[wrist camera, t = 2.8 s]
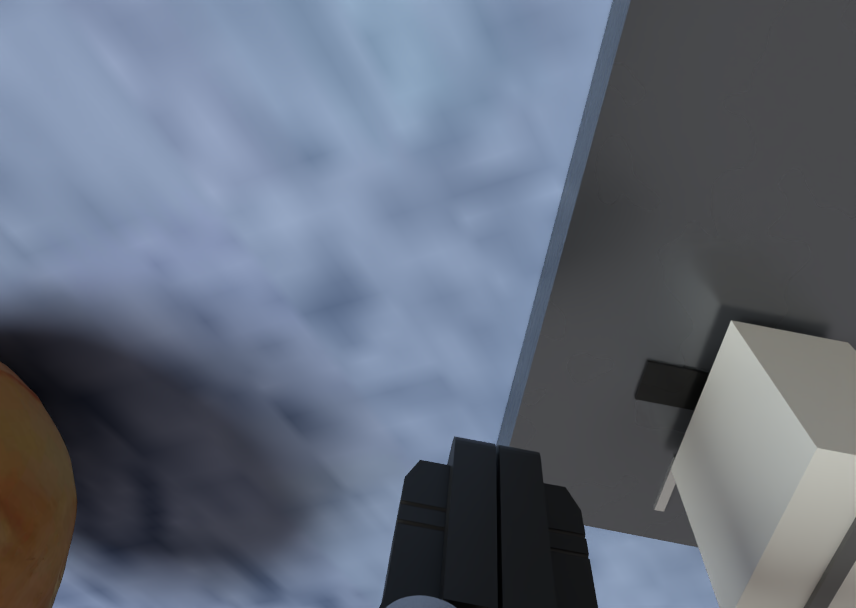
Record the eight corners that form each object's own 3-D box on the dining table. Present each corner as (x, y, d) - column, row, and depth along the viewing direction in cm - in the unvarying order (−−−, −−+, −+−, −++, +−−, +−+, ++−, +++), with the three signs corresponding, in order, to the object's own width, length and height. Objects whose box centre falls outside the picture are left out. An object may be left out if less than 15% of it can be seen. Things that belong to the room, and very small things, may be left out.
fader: (731, 320, 15) (819, 451, 11) (847, 342, 15) (981, 482, 11) (671, 468, 17) (727, 630, 12) (775, 488, 16) (866, 657, 12)
